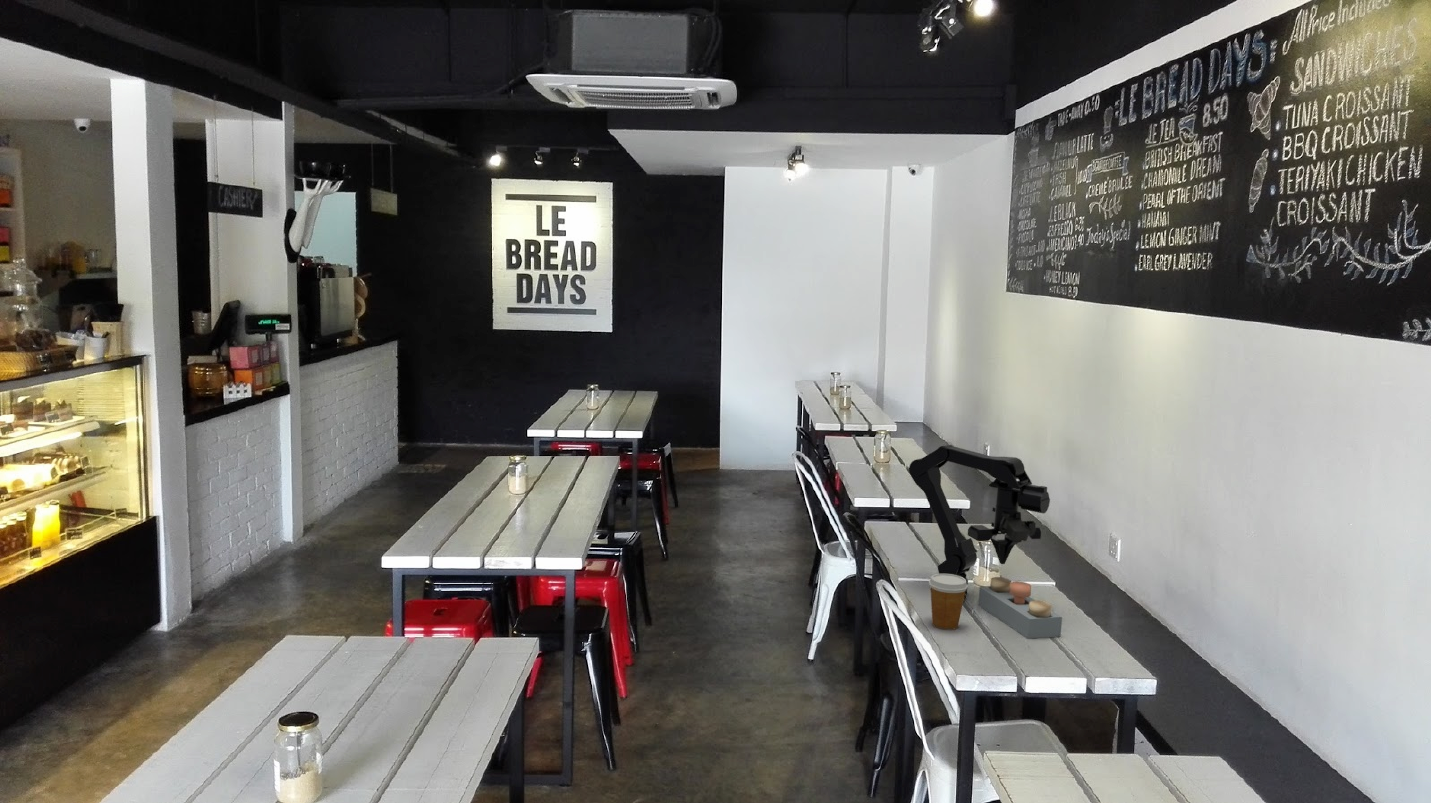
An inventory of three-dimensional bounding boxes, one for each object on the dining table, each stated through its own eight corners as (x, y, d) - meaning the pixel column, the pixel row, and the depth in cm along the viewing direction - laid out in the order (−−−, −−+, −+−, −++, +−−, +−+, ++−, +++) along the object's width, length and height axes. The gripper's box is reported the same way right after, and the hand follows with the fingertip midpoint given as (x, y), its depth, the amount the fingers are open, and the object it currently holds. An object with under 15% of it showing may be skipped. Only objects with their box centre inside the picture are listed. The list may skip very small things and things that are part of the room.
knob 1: (995, 611, 266) (997, 583, 265) (985, 604, 271) (987, 577, 270) (1012, 610, 267) (1015, 582, 266) (1002, 603, 272) (1004, 576, 271)
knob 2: (1034, 637, 248) (1037, 608, 247) (1022, 629, 253) (1025, 601, 252) (1053, 635, 250) (1055, 607, 249) (1041, 628, 255) (1043, 599, 254)
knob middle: (1014, 616, 257) (1017, 588, 256) (1003, 609, 262) (1006, 581, 261) (1032, 615, 258) (1035, 587, 257) (1021, 608, 263) (1024, 580, 262)
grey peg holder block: (1028, 638, 248) (1029, 619, 247) (978, 604, 271) (979, 586, 270) (1060, 636, 250) (1062, 616, 249) (1008, 603, 273) (1009, 585, 272)
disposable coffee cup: (939, 615, 261) (942, 570, 260) (972, 626, 255) (975, 580, 253) (918, 624, 255) (921, 577, 253) (951, 635, 248) (954, 587, 246)
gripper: (990, 514, 255) (985, 574, 258) (1056, 512, 260) (1050, 571, 262) (968, 504, 266) (964, 561, 268) (1032, 502, 271) (1027, 558, 273)
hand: (1002, 563), depth 268 cm, fingers closed
